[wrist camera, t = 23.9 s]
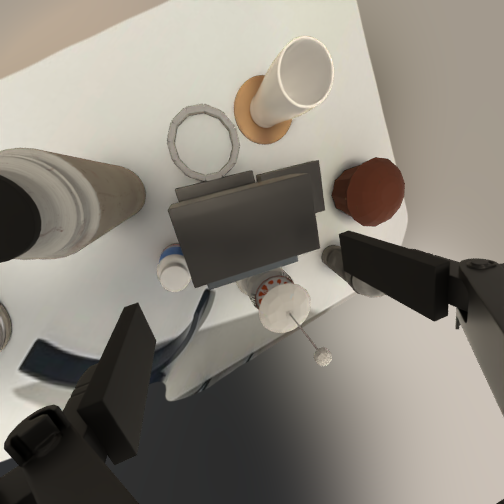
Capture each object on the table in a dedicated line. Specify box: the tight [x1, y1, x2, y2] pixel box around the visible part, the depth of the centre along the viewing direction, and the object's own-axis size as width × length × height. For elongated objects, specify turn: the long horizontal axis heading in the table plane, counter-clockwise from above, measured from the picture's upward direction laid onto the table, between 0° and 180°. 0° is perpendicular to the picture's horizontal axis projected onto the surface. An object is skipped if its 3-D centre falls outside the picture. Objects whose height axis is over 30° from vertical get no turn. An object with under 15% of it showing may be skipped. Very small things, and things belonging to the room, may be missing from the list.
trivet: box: [234, 75, 292, 144], centre depth 40 cm, size 10×10×1 cm
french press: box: [236, 267, 332, 366], centre depth 37 cm, size 10×12×25 cm
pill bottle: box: [157, 244, 191, 292], centre depth 39 cm, size 6×5×10 cm
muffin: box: [331, 157, 405, 226], centre depth 44 cm, size 12×11×10 cm
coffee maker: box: [167, 104, 320, 290], centre depth 31 cm, size 13×22×22 cm, turn 13°
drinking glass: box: [250, 36, 334, 128], centre depth 33 cm, size 7×7×15 cm
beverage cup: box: [322, 245, 386, 297], centre depth 42 cm, size 7×7×20 cm
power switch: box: [256, 160, 325, 213], centre depth 43 cm, size 11×9×4 cm
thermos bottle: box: [0, 148, 146, 263], centre depth 25 cm, size 8×8×28 cm
